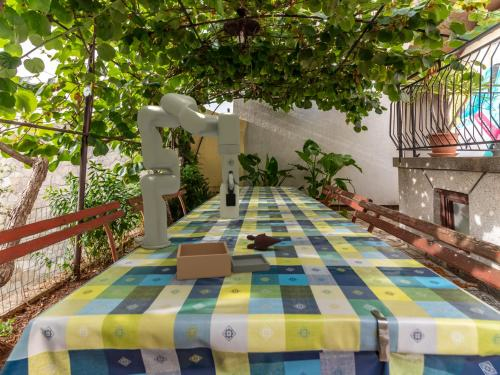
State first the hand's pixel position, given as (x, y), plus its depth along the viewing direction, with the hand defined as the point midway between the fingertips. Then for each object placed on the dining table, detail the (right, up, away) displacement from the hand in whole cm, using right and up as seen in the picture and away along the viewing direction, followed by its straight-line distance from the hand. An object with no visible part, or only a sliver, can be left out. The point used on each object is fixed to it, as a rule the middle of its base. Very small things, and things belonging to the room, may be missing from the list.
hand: (230, 204), depth 107 cm
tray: (+6, -21, +3) cm, 23 cm away
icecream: (+12, -20, +24) cm, 34 cm away
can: (0, -5, +1) cm, 5 cm away
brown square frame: (-9, -22, 0) cm, 24 cm away
